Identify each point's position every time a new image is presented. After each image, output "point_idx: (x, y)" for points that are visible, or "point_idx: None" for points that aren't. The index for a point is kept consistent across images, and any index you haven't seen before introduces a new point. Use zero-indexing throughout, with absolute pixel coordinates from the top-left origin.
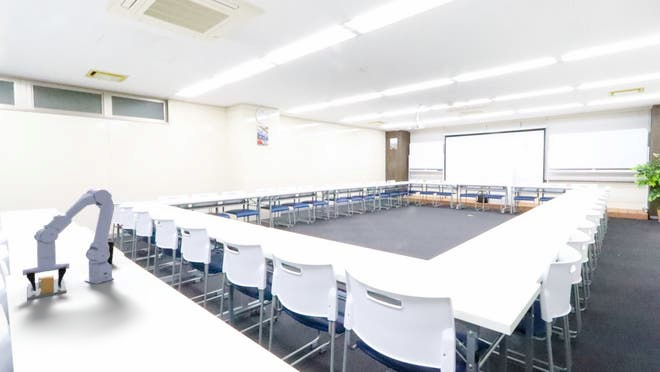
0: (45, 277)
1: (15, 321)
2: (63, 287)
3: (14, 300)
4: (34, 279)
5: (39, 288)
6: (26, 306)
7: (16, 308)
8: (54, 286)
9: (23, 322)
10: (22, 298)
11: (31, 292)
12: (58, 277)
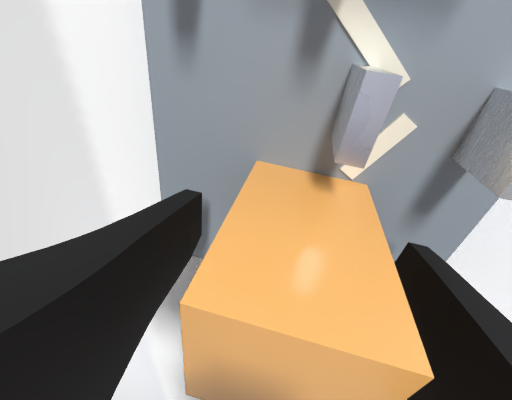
0: (253, 376)
1: (161, 379)
2: (445, 232)
3: (102, 167)
4: (105, 396)
5: (265, 8)
6: (177, 311)
7: None
8: (428, 91)
9: (179, 395)
10: (142, 166)
11: (183, 130)
12: (473, 355)
